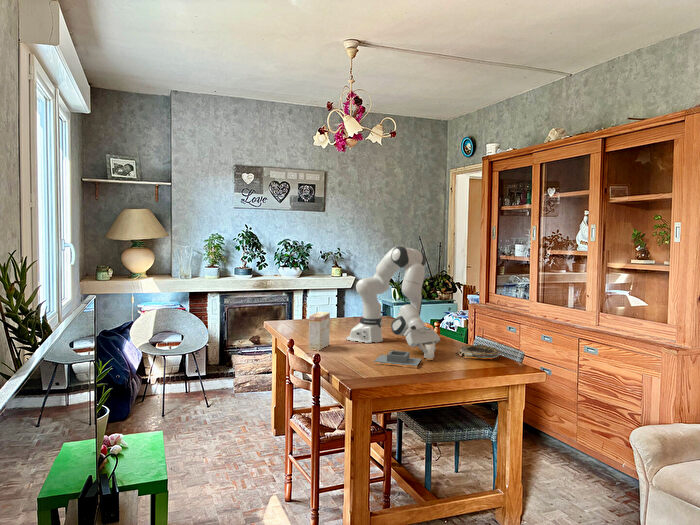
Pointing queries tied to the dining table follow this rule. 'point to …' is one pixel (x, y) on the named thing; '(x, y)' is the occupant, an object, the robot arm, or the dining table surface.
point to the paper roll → (429, 351)
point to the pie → (480, 351)
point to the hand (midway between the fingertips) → (430, 351)
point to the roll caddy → (398, 358)
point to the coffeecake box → (319, 330)
